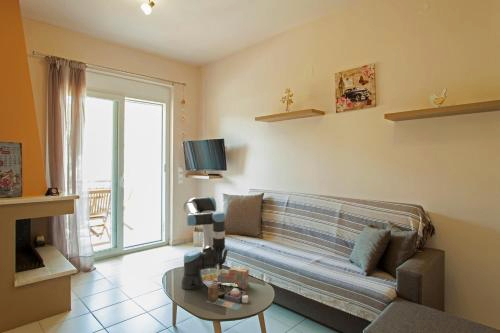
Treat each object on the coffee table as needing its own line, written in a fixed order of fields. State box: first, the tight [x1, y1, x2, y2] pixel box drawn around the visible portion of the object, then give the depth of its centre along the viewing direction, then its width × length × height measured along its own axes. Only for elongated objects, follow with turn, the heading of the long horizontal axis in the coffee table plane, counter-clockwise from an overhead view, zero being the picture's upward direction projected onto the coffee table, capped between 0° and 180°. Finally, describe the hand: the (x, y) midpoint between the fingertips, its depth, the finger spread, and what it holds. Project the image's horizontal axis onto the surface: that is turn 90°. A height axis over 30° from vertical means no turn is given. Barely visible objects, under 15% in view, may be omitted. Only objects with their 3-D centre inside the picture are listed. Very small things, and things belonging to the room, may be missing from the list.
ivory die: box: [241, 294, 249, 304], centre depth 181 cm, size 3×3×3 cm
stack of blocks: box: [216, 265, 250, 290], centre depth 204 cm, size 21×6×12 cm, turn 72°
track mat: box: [206, 297, 243, 311], centre depth 178 cm, size 22×7×1 cm, turn 64°
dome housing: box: [224, 288, 247, 304], centre depth 185 cm, size 10×10×3 cm
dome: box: [229, 287, 241, 297], centre depth 185 cm, size 7×7×5 cm
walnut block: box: [207, 283, 219, 303], centre depth 182 cm, size 4×4×9 cm
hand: (218, 274), depth 183 cm, fingers closed
